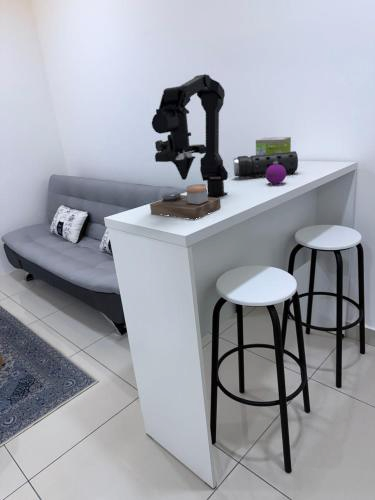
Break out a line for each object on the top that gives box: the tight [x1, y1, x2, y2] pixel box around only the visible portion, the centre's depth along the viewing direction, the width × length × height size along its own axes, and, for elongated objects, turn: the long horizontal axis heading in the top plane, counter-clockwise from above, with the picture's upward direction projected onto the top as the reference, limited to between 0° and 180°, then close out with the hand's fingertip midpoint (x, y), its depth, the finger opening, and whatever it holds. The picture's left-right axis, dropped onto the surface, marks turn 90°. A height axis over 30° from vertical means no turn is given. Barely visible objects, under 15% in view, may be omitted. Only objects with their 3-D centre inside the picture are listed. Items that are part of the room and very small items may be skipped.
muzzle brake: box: [233, 150, 299, 179], centre depth 163 cm, size 10×28×10 cm, turn 89°
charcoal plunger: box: [161, 191, 181, 203], centre depth 126 cm, size 6×6×5 cm
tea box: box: [255, 136, 292, 155], centre depth 181 cm, size 15×10×15 cm, turn 53°
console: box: [149, 194, 222, 220], centre depth 122 cm, size 14×20×4 cm
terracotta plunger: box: [186, 183, 208, 204], centre depth 117 cm, size 6×6×5 cm
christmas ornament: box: [265, 160, 287, 185], centre depth 146 cm, size 8×8×10 cm
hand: (184, 179), depth 118 cm, fingers closed
